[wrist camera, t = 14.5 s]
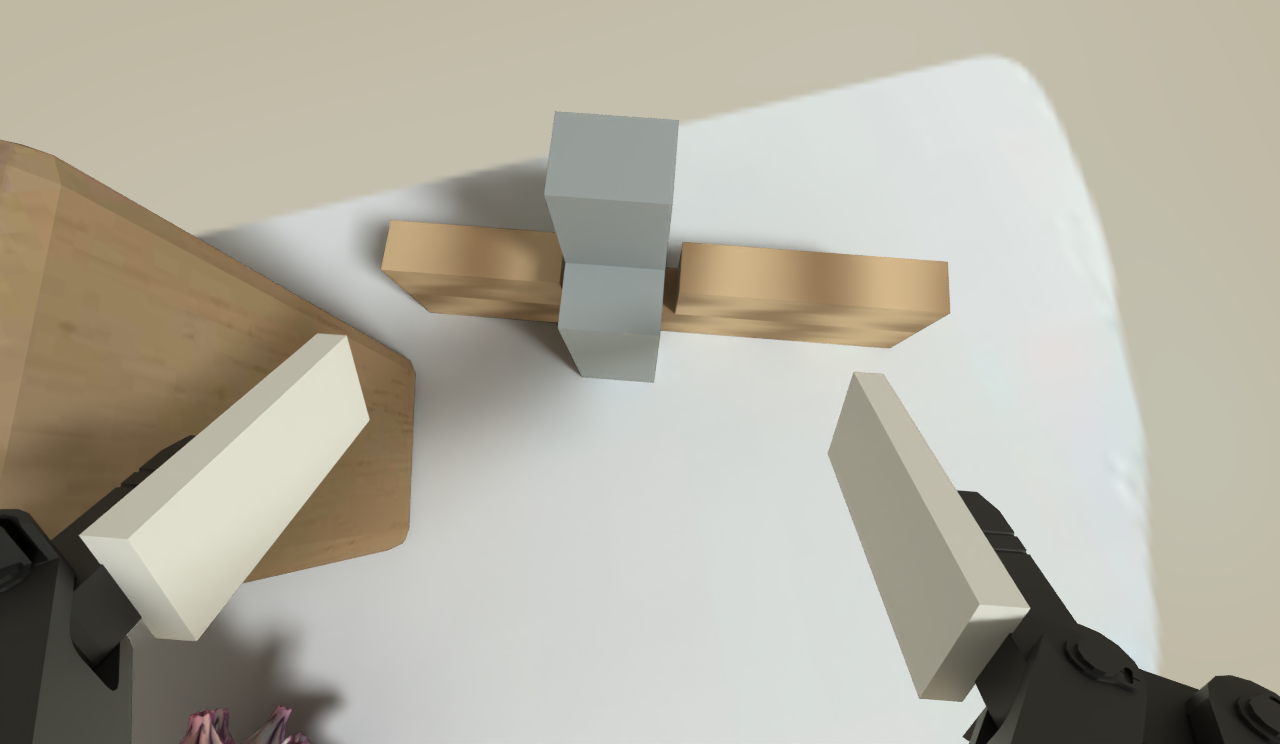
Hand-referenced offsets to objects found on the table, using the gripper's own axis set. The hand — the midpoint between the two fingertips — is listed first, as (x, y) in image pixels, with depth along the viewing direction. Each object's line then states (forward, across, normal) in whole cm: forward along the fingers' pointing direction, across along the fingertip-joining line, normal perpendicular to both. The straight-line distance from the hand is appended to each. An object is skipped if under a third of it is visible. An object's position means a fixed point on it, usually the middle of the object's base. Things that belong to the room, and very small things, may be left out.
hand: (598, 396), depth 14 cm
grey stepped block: (+16, 0, -5) cm, 17 cm away
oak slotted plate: (+16, +2, -5) cm, 17 cm away
